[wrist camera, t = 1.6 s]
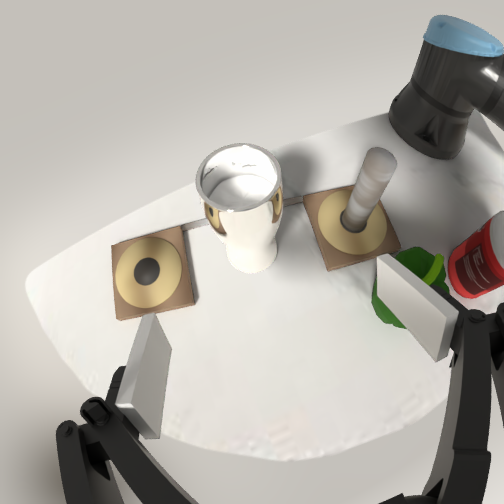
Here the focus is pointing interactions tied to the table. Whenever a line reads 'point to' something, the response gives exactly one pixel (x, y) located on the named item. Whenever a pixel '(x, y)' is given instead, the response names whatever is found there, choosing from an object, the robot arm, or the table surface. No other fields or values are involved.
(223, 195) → the beer glass
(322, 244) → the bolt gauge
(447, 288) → the bell pepper
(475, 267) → the canned food
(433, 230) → the table surface
